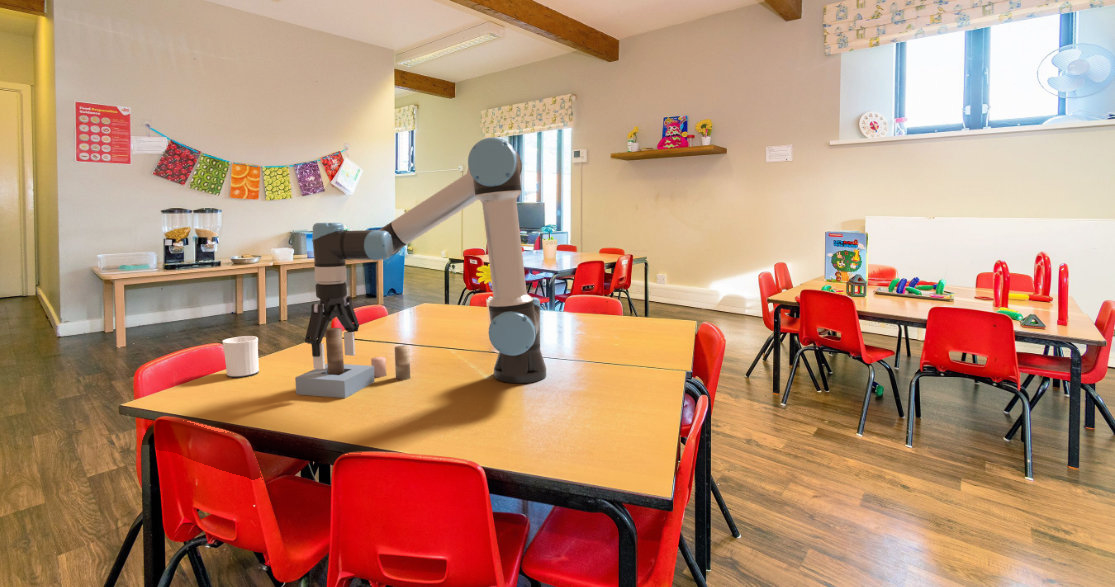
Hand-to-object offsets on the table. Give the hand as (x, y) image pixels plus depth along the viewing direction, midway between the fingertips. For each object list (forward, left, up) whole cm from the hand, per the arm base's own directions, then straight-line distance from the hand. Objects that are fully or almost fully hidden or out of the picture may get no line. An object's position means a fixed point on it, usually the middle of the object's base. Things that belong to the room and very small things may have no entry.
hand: (335, 361), depth 144 cm
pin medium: (-13, -12, -7) cm, 19 cm away
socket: (0, 0, -7) cm, 7 cm away
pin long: (0, 0, -7) cm, 7 cm away
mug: (+35, -6, -7) cm, 36 cm away
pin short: (-5, -13, -7) cm, 16 cm away
